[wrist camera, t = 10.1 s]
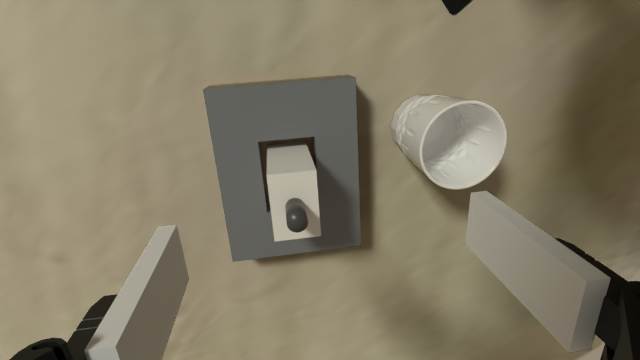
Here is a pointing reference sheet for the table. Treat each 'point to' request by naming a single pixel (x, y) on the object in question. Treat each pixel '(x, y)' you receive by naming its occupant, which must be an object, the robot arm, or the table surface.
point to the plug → (292, 191)
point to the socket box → (282, 127)
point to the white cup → (450, 138)
